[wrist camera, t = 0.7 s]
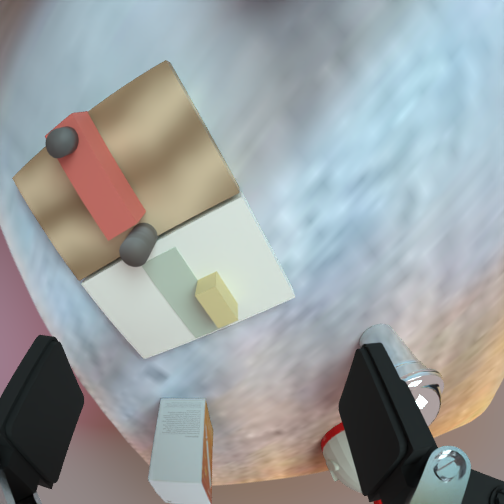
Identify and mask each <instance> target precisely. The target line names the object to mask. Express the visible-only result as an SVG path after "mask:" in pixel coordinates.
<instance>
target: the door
mask: <svg viewBox="0 0 504 504" xmlns="http://www.w3.org/2000/svg"><path fill="white" fill-rule="evenodd" d="M82 286H83V287H84V288H85V290H86V291H87V292H88V293H89V295H90V296H91V297H92V299H93V300H94V301H95V302H96V304H97V305H98V306H99V307H100V309H101V310H102V311H103V312H104V314H105V315H106V316H107V317H108V318H109V320H110V321H111V322H112V323H113V324H114V326H115V327H116V328H117V329H118V330H119V331H120V333H121V334H122V335H123V336H124V337H125V338H126V340H127V341H128V342H129V343H130V344H131V345H132V346H133V347H134V349H135V350H136V351H137V352H138V353H139V354H140V355H141V356H142V357H143V358H144V359H147V358H149V357H152V356H155V355H157V354H160V353H163V352H165V351H168V350H170V349H173V348H176V347H178V346H181V345H183V344H186V343H188V342H191V341H193V340H196V339H198V338H201V337H203V336H206V335H208V334H211V333H213V332H216V331H218V330H221V329H223V328H226V327H228V326H230V325H233V324H235V323H238V322H240V321H242V320H245V319H247V318H249V317H252V316H254V315H256V314H259V313H261V312H263V311H266V310H268V309H270V308H272V307H275V306H277V305H279V304H282V303H284V302H286V301H288V300H291V299H293V298H295V295H294V291H293V288H292V286H291V284H290V282H289V280H288V278H287V276H286V274H285V272H284V270H283V269H282V267H281V265H280V263H279V261H278V259H277V257H276V255H275V253H274V251H273V250H272V248H271V246H270V244H269V242H268V240H267V238H266V236H265V234H264V233H263V231H262V229H261V227H260V225H259V223H258V221H257V219H256V218H255V216H254V214H253V212H252V210H251V208H250V206H249V205H248V203H247V201H246V199H245V197H244V195H243V193H242V192H240V193H238V194H236V195H234V196H232V197H230V198H228V199H226V200H224V201H223V202H221V203H219V204H217V205H215V206H213V207H211V208H209V209H207V210H205V211H203V212H201V213H199V214H197V215H196V216H194V217H192V218H190V219H188V220H186V221H184V222H182V223H180V224H179V225H177V226H175V227H173V228H171V229H169V230H167V231H166V232H164V233H162V234H160V236H159V238H158V240H157V242H156V244H155V246H154V248H153V250H152V252H151V254H150V256H149V258H148V260H147V261H146V263H145V264H144V265H142V266H140V267H132V266H129V265H127V264H126V263H125V262H124V261H123V260H122V259H121V257H119V258H117V259H116V260H114V261H112V262H110V263H109V264H107V265H105V266H104V267H102V268H100V269H98V270H97V271H95V272H93V273H92V274H90V275H88V276H87V277H86V278H85V280H84V281H83V283H82Z"/></svg>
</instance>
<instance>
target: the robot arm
mask: <svg viewBox="0 0 504 504" xmlns="http://www.w3.org/2000/svg"><path fill="white" fill-rule="evenodd" d="M83 404H84V396H83V393H82V391H81V389H80V387H79V385H78V383H77V380H76V378H75V376H74V374H73V371H72V369H71V367H70V364H69V362H68V359H67V357H66V354H65V352H64V349H63V347H62V345H61V343H60V342H58V341H57V339H56V338H55V337H52V336H44V335H39V336H38V337H37V338H36V339H35V341H34V342H33V344H32V346H31V347H30V349H29V350H28V352H27V354H26V355H25V357H24V358H23V360H22V362H21V363H20V365H19V366H18V368H17V370H16V371H15V373H14V375H13V376H12V378H11V380H10V382H9V383H8V385H7V387H6V389H5V390H4V392H3V394H2V396H1V398H0V504H42V503H41V500H40V498H39V496H38V494H37V491H36V490H37V486H38V485H41V486H43V487H46V488H50V489H52V486H53V483H56V482H57V481H58V479H59V475H60V472H61V469H62V466H63V462H64V459H65V456H66V453H67V450H68V447H69V444H70V441H71V438H72V435H73V432H74V430H75V427H76V424H77V421H78V418H79V416H80V413H81V410H82V408H83ZM339 413H340V416H341V420H342V423H343V426H344V430H345V433H346V437H347V440H348V444H349V447H350V451H351V455H352V458H353V462H354V465H355V469H356V473H357V476H358V480H359V484H360V487H361V491H362V494H363V495H364V496H368V499H369V502H373V501H377V500H381V502H382V504H504V481H501V480H498V479H495V478H493V477H490V476H488V475H485V474H482V473H480V472H477V471H474V470H472V469H471V464H470V460H469V458H468V456H467V455H466V454H465V453H464V452H463V451H462V450H461V449H459V448H457V447H453V446H442V447H440V448H438V447H437V445H436V443H435V441H434V438H433V436H432V434H431V432H430V430H429V428H428V426H427V423H426V421H425V419H424V417H423V415H422V413H421V411H420V409H419V407H418V405H417V403H416V401H415V399H414V397H413V395H412V393H411V391H410V389H409V387H408V385H407V383H406V382H405V381H404V380H401V379H400V377H399V375H398V373H397V371H396V369H395V367H394V365H393V363H392V361H391V359H390V357H389V355H388V353H387V351H386V349H385V347H384V346H383V344H382V343H380V342H379V343H368V344H363V345H362V347H361V349H357V350H356V353H355V356H354V359H353V362H352V366H351V369H350V372H349V375H348V378H347V381H346V384H345V387H344V390H343V393H342V396H341V398H340V401H339Z"/></svg>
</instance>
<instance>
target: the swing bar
mask: <svg viewBox="0 0 504 504" xmlns="http://www.w3.org/2000/svg"><path fill="white" fill-rule="evenodd" d="M45 138H46V149H47V152H48V153H49V155H50V156H52V157H53V158H57V159H58V161H59V163H60V165H61V166H62V168H63V170H64V171H65V173H66V175H67V177H68V178H69V180H70V182H71V183H72V185H73V187H74V188H75V190H76V192H77V193H78V195H79V196H80V198H81V200H82V201H83V203H84V204H85V206H86V208H87V209H88V211H89V212H90V214H91V215H92V217H93V219H94V220H95V222H96V223H97V225H98V226H99V228H100V229H101V231H102V232H103V234H104V235H105V237H106V238H107V240H108V241H109V240H111V239H112V238H114V237H116V236H117V235H119V234H121V233H122V232H124V231H126V230H127V229H129V228H131V227H132V226H134V225H136V224H137V223H138V222H139V221H140V219H141V218H142V217H143V215H144V214H145V213H146V210H145V209H144V207H143V205H142V204H141V202H140V201H139V199H138V197H137V196H136V194H135V193H134V191H133V189H132V188H131V186H130V184H129V183H128V181H127V179H126V178H125V176H124V174H123V173H122V171H121V169H120V168H119V166H118V164H117V163H116V161H115V159H114V158H113V156H112V154H111V152H110V151H109V149H108V147H107V146H106V144H105V142H104V140H103V139H102V137H101V135H100V133H99V132H98V130H97V128H96V126H95V124H94V123H93V121H92V119H91V117H90V115H89V114H88V112H87V111H86V112H78V113H72V114H70V115H69V116H68V117H67V118H66V119H64V120H63V121H62V122H61V123H60V124H58V125H57V126H56V127H55V128H54V129H53V130H51V131H50V132H49V133H48V134H47V135H46V136H45Z"/></svg>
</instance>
